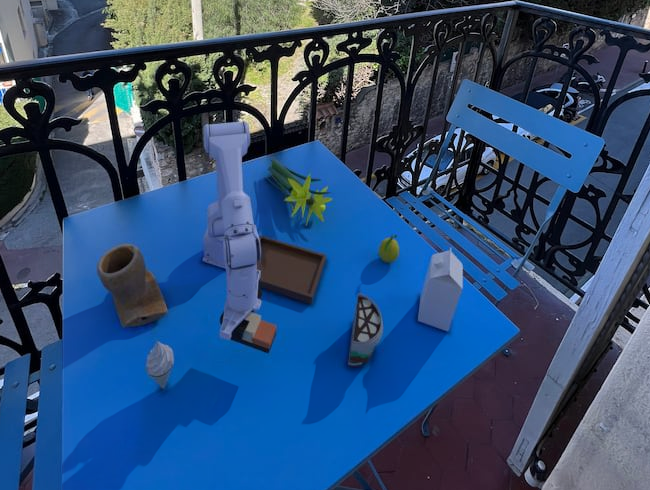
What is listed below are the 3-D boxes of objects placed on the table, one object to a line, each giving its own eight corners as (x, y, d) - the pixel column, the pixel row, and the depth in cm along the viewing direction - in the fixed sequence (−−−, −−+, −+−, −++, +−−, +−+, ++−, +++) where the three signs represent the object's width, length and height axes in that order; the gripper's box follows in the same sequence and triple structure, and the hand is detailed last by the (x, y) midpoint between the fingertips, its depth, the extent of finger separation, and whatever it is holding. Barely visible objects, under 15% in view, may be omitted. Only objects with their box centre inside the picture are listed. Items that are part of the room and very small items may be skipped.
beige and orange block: (219, 335, 84) (218, 322, 82) (229, 316, 87) (228, 303, 86) (268, 354, 81) (269, 340, 79) (276, 333, 85) (277, 319, 83)
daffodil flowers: (301, 169, 148) (354, 210, 118) (271, 198, 144) (319, 248, 114) (275, 137, 141) (326, 172, 111) (243, 167, 137) (287, 211, 107)
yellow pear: (381, 272, 109) (386, 245, 105) (371, 254, 114) (376, 228, 110) (402, 266, 111) (409, 240, 107) (392, 250, 116) (398, 224, 112)
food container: (376, 381, 84) (383, 352, 80) (347, 373, 85) (352, 344, 81) (379, 325, 95) (385, 297, 91) (353, 319, 96) (358, 290, 92)
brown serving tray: (238, 280, 103) (238, 273, 102) (259, 241, 115) (260, 235, 114) (311, 304, 99) (312, 297, 98) (325, 261, 111) (326, 254, 110)
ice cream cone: (161, 408, 77) (154, 360, 71) (144, 391, 79) (136, 343, 73) (182, 384, 81) (177, 337, 75) (165, 368, 83) (159, 321, 77)
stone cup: (101, 290, 98) (91, 246, 92) (152, 269, 104) (146, 226, 98) (113, 345, 87) (103, 298, 80) (169, 317, 93) (164, 272, 87)
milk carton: (449, 306, 101) (466, 251, 93) (448, 332, 95) (467, 276, 87) (420, 296, 103) (435, 242, 95) (417, 321, 97) (433, 265, 89)
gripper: (244, 324, 71) (243, 370, 77) (274, 260, 84) (272, 303, 89) (208, 311, 72) (210, 357, 78) (243, 250, 85) (243, 293, 91)
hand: (241, 328), depth 84 cm, fingers closed on beige and orange block, 4 cm apart
